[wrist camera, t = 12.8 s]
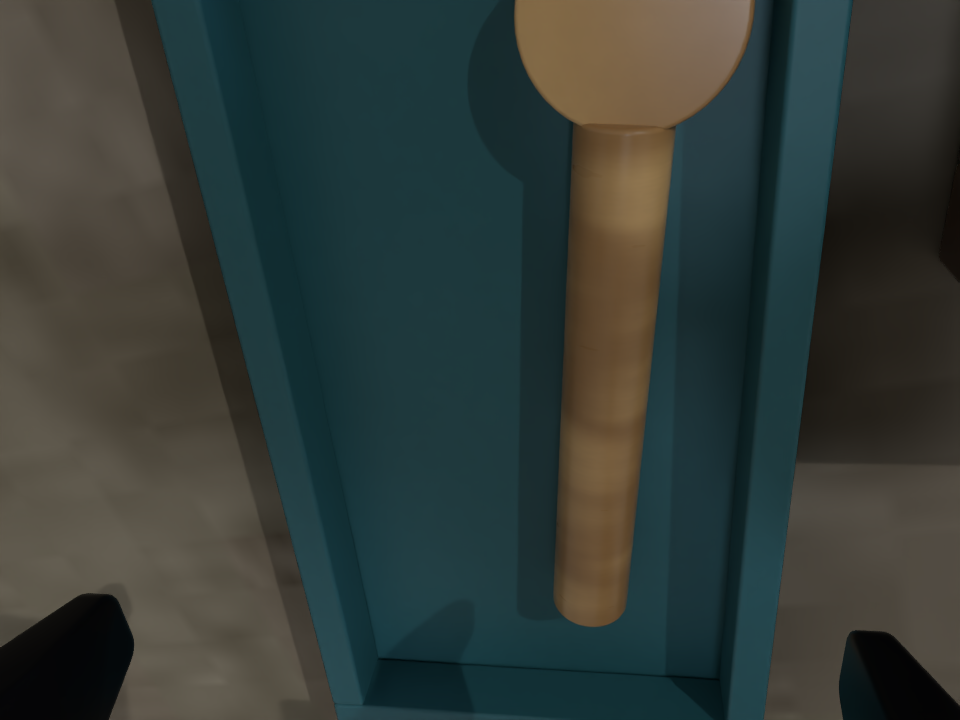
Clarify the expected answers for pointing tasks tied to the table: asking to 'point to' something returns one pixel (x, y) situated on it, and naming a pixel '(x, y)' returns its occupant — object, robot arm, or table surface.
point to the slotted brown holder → (952, 230)
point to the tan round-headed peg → (616, 247)
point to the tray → (505, 347)
